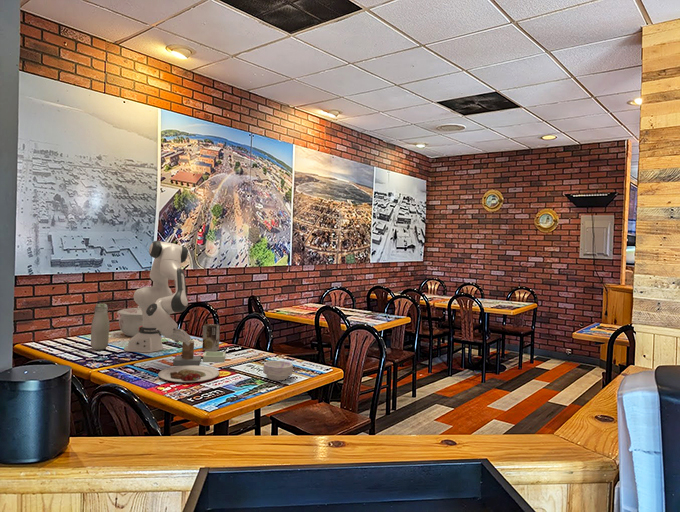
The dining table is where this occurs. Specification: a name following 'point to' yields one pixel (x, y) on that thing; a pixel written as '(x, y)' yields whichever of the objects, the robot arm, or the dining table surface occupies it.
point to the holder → (214, 357)
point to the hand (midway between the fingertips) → (183, 343)
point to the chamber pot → (130, 320)
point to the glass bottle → (100, 327)
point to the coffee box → (211, 337)
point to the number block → (188, 350)
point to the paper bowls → (277, 370)
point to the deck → (186, 361)
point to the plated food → (188, 373)
